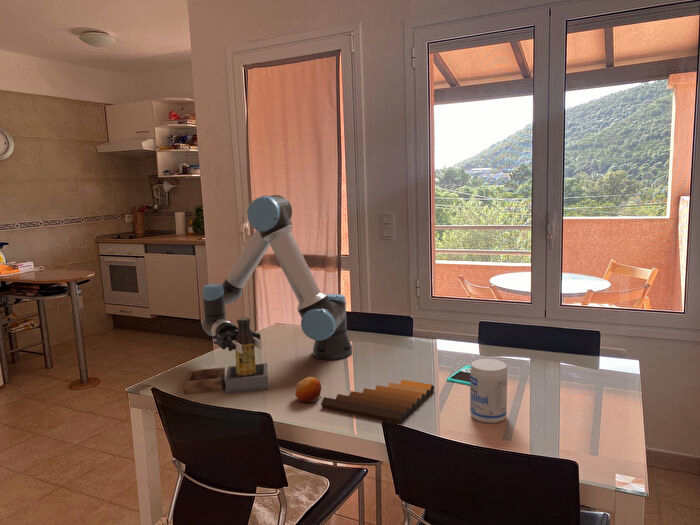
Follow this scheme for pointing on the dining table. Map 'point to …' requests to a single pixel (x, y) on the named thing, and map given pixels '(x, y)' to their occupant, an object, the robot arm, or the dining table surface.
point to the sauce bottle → (245, 349)
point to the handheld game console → (461, 376)
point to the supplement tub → (488, 390)
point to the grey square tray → (247, 380)
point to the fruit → (308, 389)
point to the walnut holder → (204, 380)
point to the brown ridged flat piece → (382, 401)
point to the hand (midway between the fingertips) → (250, 346)
